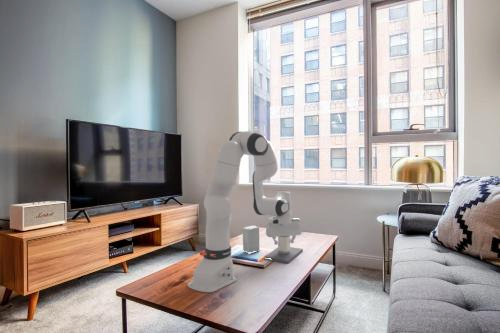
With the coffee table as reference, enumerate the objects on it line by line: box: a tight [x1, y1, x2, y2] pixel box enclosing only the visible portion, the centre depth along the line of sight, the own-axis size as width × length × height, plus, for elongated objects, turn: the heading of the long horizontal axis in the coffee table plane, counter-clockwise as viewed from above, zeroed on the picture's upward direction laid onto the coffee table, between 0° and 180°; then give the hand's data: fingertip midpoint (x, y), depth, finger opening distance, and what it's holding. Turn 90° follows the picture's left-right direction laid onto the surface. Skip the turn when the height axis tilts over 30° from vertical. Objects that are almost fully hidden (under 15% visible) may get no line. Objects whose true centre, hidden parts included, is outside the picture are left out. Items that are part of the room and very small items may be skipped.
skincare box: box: [242, 225, 260, 252], centre depth 169 cm, size 8×6×15 cm
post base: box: [263, 246, 304, 264], centre depth 163 cm, size 22×14×10 cm, turn 150°
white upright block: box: [277, 236, 291, 252], centre depth 163 cm, size 5×5×8 cm
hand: (284, 243), depth 163 cm, fingers open, 8 cm apart
